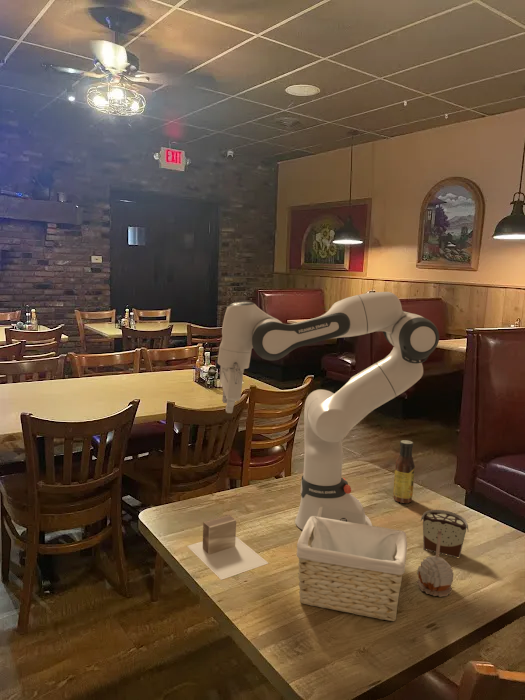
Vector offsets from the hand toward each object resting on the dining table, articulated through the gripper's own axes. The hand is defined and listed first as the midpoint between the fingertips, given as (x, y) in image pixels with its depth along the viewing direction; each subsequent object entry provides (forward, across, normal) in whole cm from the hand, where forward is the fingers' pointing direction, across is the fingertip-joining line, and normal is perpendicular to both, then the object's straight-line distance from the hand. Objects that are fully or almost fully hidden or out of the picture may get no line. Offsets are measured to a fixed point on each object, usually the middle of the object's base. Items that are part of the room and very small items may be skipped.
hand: (227, 407), depth 153 cm
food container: (+28, -20, -62) cm, 71 cm away
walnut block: (+34, -14, -1) cm, 37 cm away
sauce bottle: (+29, +10, -64) cm, 71 cm away
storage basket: (+32, -38, -30) cm, 57 cm away
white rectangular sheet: (+35, -18, -3) cm, 39 cm away
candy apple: (+29, -37, -51) cm, 70 cm away
